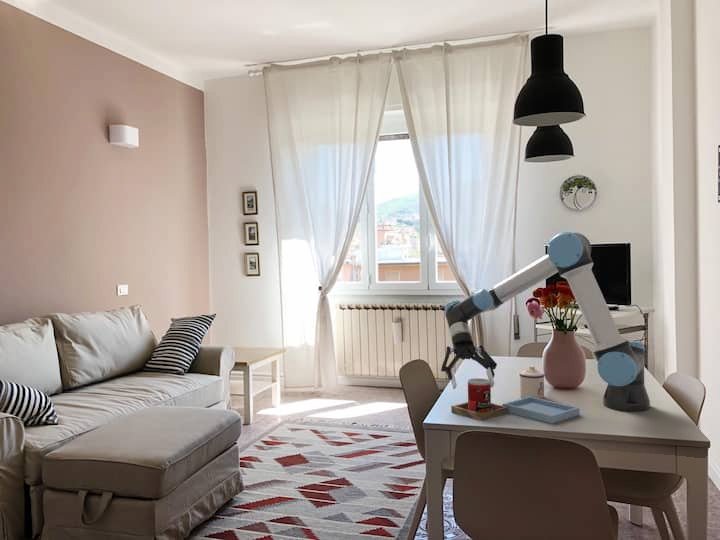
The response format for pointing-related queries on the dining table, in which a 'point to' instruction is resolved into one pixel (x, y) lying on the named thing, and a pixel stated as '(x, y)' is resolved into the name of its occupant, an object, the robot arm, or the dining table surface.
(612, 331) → the robot arm
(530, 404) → the slate-blue tray
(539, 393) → the teacup with lid
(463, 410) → the frame
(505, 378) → the dining table surface
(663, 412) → the dining table surface
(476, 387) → the canned food
